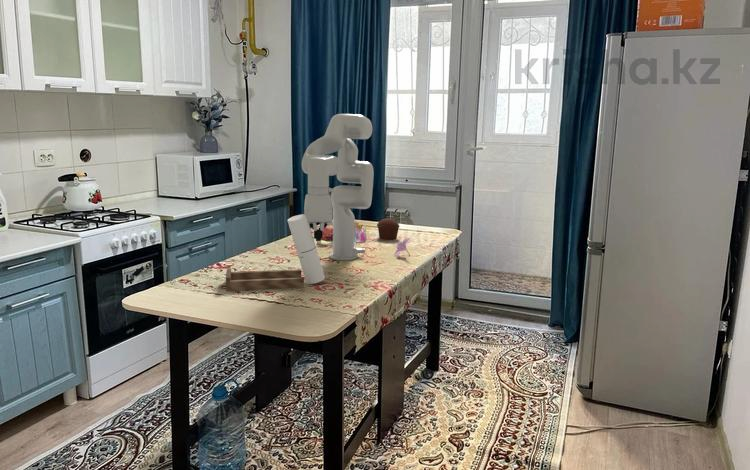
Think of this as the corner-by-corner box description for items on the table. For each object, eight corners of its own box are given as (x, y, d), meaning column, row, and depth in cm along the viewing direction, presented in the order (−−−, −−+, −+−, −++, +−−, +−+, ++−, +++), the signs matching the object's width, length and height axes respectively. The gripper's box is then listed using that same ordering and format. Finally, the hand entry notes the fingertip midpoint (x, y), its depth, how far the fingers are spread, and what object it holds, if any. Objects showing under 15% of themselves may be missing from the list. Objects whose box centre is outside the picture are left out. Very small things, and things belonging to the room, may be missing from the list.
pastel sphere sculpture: (321, 234, 291) (321, 217, 289) (367, 236, 291) (367, 218, 289) (315, 246, 267) (315, 227, 265) (364, 248, 266) (365, 228, 264)
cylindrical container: (321, 282, 208) (302, 219, 200) (303, 285, 210) (284, 222, 202) (326, 274, 214) (308, 212, 207) (309, 277, 216) (291, 216, 209)
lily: (397, 254, 260) (389, 238, 256) (419, 247, 256) (411, 231, 252) (395, 267, 250) (386, 251, 247) (417, 260, 247) (409, 244, 243)
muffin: (403, 238, 287) (404, 218, 285) (392, 242, 278) (392, 222, 275) (383, 234, 293) (384, 215, 291) (371, 238, 284) (372, 219, 282)
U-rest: (301, 278, 217) (301, 265, 216) (304, 287, 205) (304, 274, 204) (227, 280, 211) (227, 268, 210) (226, 291, 200) (225, 277, 198)
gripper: (337, 189, 210) (336, 237, 214) (296, 190, 207) (297, 238, 211) (340, 192, 203) (339, 242, 207) (298, 193, 199) (298, 243, 204)
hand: (318, 240), depth 209 cm, fingers closed
